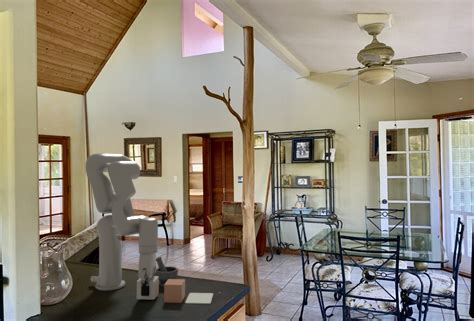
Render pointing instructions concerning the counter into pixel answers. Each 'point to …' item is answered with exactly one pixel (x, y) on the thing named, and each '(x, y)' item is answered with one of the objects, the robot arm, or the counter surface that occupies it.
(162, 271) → the mortar and pestle
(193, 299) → the sage pad
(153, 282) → the white cube
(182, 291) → the orange-brown cube
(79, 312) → the counter surface
